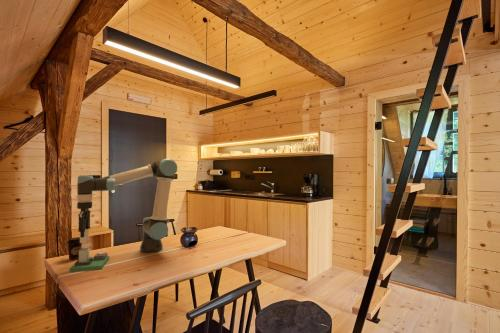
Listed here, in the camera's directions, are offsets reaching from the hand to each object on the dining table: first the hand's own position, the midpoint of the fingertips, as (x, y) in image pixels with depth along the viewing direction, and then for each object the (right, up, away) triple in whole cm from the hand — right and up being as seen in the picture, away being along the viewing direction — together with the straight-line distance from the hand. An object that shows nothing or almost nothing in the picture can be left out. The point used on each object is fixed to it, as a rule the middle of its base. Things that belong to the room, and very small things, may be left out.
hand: (84, 241), depth 156 cm
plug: (0, -13, 0) cm, 13 cm away
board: (+2, -15, +2) cm, 15 cm away
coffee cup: (-14, -15, +13) cm, 25 cm away
